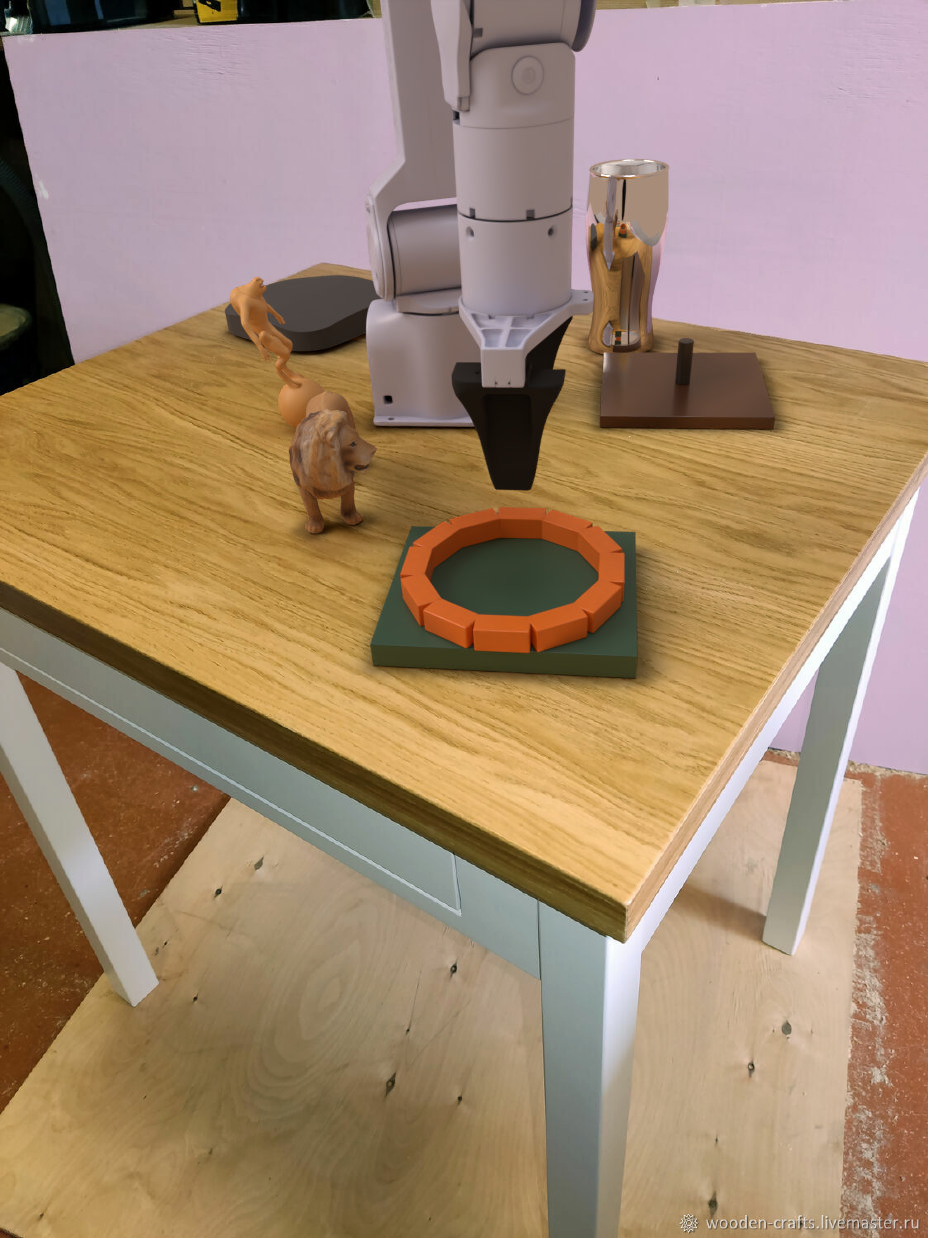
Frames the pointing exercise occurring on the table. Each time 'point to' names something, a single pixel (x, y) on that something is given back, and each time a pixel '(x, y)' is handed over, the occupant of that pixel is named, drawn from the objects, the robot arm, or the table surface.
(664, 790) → the table surface
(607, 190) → the beer glass
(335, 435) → the lion figurine
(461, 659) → the stand
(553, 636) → the ring
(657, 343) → the table surface
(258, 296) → the figurine
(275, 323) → the media streaming box
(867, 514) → the table surface
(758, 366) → the post
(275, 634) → the table surface
